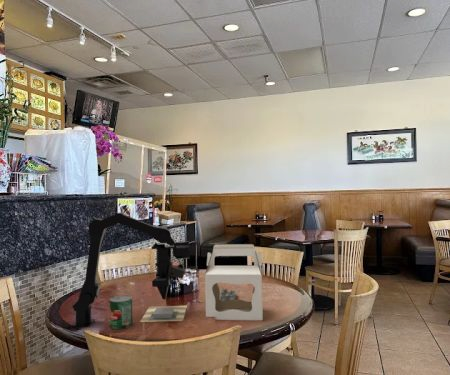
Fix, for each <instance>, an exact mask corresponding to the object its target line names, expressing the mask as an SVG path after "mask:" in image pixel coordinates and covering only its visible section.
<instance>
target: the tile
mask: <svg viewBox="0 0 450 375" xmlns="http://www.w3.org/2000/svg"><path fill="white" fill-rule="evenodd" d="M156 307H157V306H156ZM173 313H174V307H157V308H156V310H155V312H154V313H153V318H172V316H173Z"/></svg>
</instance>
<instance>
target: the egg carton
mask: <svg viewBox="0 0 450 375" xmlns="http://www.w3.org/2000/svg"><path fill="white" fill-rule="evenodd" d="M237 293H238V290H231V289H230V290H229V291H228V289H227V288H224V287H222V288H221V290H220V296H219V298H220V300H221V301H229V300H234V299H237Z"/></svg>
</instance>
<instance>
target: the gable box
mask: <svg viewBox="0 0 450 375" xmlns="http://www.w3.org/2000/svg"><path fill="white" fill-rule="evenodd" d="M261 253H262V252H261V251H258V252H257V251H256V249H255V245H254V244H253V243H250V244H249V243H244V244H243V243H242V244H241V243H238V244H237V243H236V244H234V243H231V244H230V243H229V244H222V243H220V244H218V243H217V244H214V245H213V249H212V251H211V252H207V258H206V270H205V273H204V281H205V282H204V284H205V285H204V287H205V291H204V294H205V318H206V317H208V318H209V317H211V318H213V317H214V320H215V321H263V319H264V318H263V316H264V314H263V280H262V279H263V278H262V277H263V276H262V274H263V273H262V271H263V270H262V266H263V262H262V254H261ZM219 256H220V257H253V265H252V264H251V265H243V264H242V265H241V264H239V265H235V264H233V265H229V264H226V265H223V264H222V265H215V258H216V257H219ZM220 283H224V284H225V283H226V284H230V285H231V284H232V285H243V284H248V285H249V284H250V285H252V286H253V289H252V297H251V301H246V300H243V299H237V298H236V299H234V300H229V301H221V300H220V293H221V290H220V287H219V284H220Z"/></svg>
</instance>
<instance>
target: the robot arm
mask: <svg viewBox="0 0 450 375" xmlns="http://www.w3.org/2000/svg"><path fill="white" fill-rule="evenodd" d="M117 224H121V225H123V226H125V227H128V228H130V229H133V230H135V231H137V232H141V233H143V234H146V235H148V237H151V238H152V239H153V240H155V243H154V244H153V245H152V246H151V249H152V250H156V262H155V267H156V273H155V277H154V278H153V280H152V281H151V287H153V288H154V287H155V288H157V290H158V292H159V294H160V296H161V298H162V300H166V299H167V294H168V290H169V287H170V285H171V283H172V282H173V279H172V278H174V277H177V278H178V279H181V280H182V279H183V278H184V276H185V273H186V268H185V267H184V266H185V265H184V264H182V263H178V265H174V264H173V262H174V261H172V257H173V258H175V260H184V259H191V250H190V242H189V241H178V242H177V241H175V239H174V238H172V234H171V231H170V229H168V228H167V227H163V226H159V225H154V224H149V223H146V222H144V221H142V220H139V219H136V218H134V217H131V216H129V215H127V214H124V213H123V212H117V213H115V214H113V215H111V216H108V217H106V218H104V219H103V218H96V219H93V220H91V221H90V223H89V224H88V237H89V248H88V249H89V250H88V257H87V265H86V273H85V278H84V282H83V285H82V287H81V290H80V293H79V296H78V298H77V300H76V301H75V302H74V303H73V304H72V308H73V311H74V312H75V316H74V323H72V324H71V327H72V328H73V327H74V328H75V327H89V326H91V325H92V324H93V323H94V322H95V320H96V319H94V318H92V304H93V303H94V302H95V300H96V298H98V297H99V295H100V294H101V291H100V288H101V284H102V282H98V270H99V261H100V256H101V248H102V242H103V240H104V236H105V234H106V231H107V229H108V228H110V227H113V226H115V225H117ZM157 242H158V243H157ZM166 244H167V245H166ZM170 277H172V278H170Z"/></svg>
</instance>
